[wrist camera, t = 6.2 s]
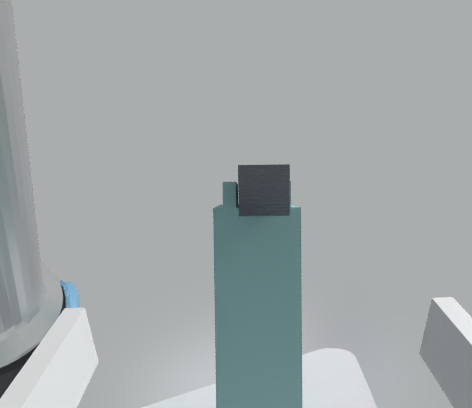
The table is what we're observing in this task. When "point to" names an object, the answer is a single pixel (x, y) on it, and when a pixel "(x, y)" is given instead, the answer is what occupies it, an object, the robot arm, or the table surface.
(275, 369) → the notched post
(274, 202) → the steel bar
